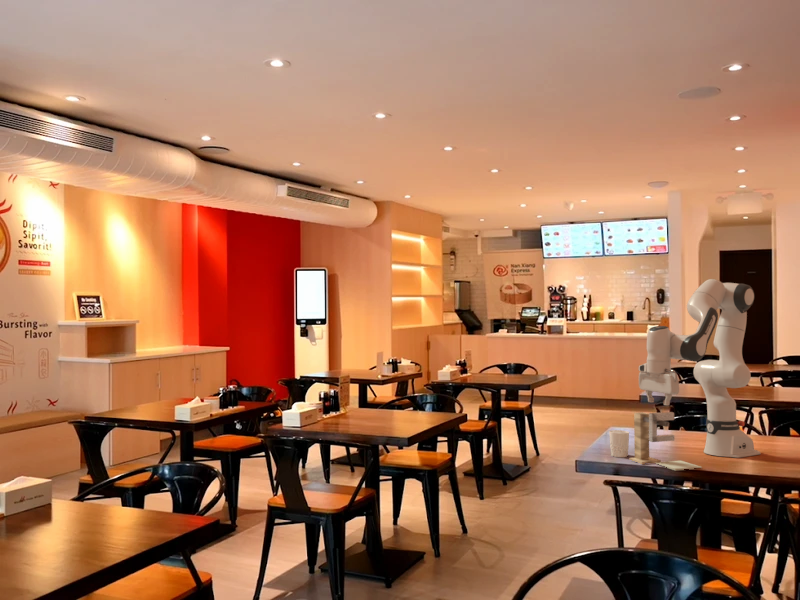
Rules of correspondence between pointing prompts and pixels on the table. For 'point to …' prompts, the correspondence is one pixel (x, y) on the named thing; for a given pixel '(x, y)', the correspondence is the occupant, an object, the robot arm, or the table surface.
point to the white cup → (619, 443)
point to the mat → (678, 465)
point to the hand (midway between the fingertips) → (658, 403)
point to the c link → (653, 426)
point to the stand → (643, 438)
